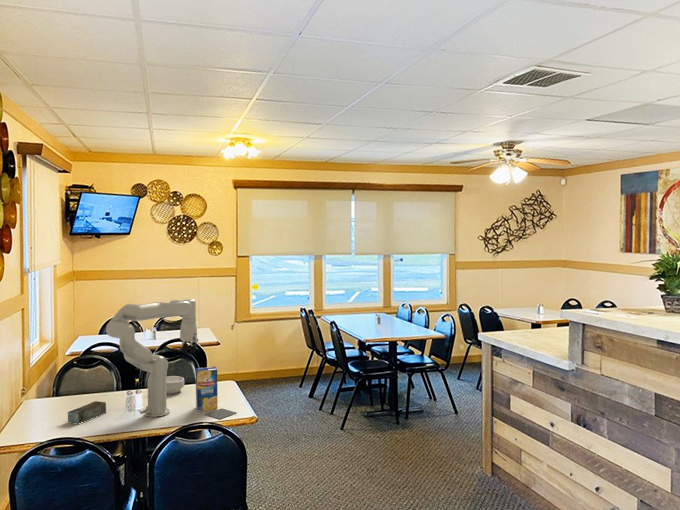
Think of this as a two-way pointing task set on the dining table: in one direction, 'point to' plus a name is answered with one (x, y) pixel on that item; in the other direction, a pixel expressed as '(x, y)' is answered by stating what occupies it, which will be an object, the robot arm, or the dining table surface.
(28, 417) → the dining table surface
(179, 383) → the paper bowls
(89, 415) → the dark grey rectangular block
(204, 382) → the blue rectangular box
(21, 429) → the dining table surface
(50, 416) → the dining table surface
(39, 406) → the dining table surface
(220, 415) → the rubber mat
